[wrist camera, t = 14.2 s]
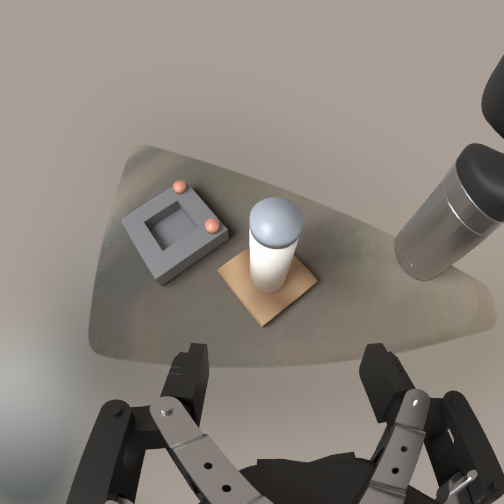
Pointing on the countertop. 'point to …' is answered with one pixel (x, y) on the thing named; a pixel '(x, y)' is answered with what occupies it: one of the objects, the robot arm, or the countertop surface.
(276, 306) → the pad
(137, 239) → the block
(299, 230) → the ball
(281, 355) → the countertop surface
